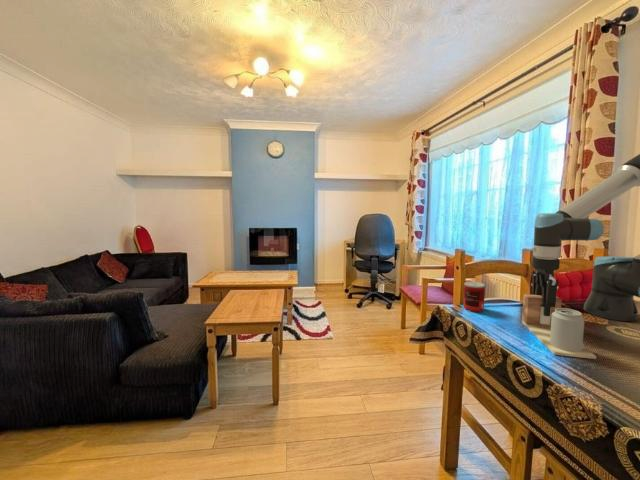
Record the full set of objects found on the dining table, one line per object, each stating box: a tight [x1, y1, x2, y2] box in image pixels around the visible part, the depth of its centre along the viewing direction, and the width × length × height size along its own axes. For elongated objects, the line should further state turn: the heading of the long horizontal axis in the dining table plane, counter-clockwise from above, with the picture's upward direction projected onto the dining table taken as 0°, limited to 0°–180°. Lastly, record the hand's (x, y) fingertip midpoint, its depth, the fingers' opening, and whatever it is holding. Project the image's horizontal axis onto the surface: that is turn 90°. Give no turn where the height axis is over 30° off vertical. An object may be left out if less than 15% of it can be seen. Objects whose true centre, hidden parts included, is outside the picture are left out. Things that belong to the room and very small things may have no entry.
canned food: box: [463, 281, 486, 313], centre depth 121 cm, size 8×8×11 cm
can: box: [550, 307, 586, 352], centre depth 87 cm, size 8×8×12 cm
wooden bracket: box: [521, 293, 597, 360], centre depth 94 cm, size 24×10×11 cm, turn 164°
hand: (541, 321), depth 104 cm, fingers open, 4 cm apart
